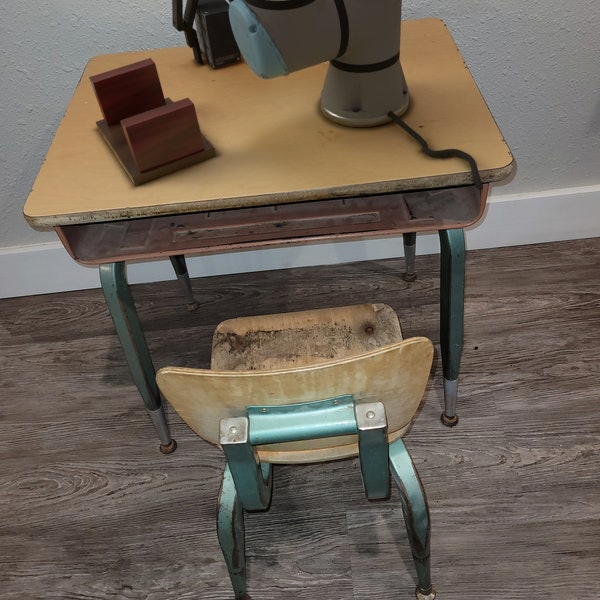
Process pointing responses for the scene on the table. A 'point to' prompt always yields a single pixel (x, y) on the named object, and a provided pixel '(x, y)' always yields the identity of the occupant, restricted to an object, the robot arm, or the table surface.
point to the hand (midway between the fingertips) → (220, 54)
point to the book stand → (147, 123)
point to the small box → (216, 33)
